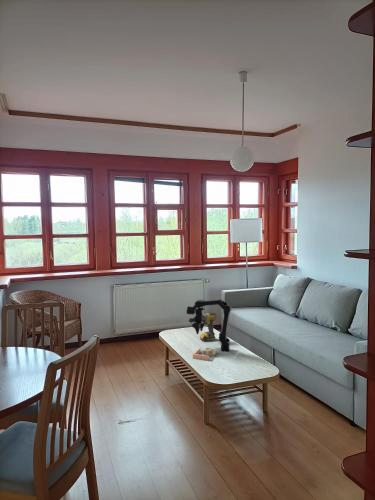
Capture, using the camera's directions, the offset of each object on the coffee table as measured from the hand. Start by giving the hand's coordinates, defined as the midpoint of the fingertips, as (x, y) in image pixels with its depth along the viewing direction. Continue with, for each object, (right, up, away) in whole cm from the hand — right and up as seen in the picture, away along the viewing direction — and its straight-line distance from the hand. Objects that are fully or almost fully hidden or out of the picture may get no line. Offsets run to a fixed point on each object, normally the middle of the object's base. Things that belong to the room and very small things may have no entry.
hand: (199, 332), depth 318 cm
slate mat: (+5, -15, -18) cm, 24 cm away
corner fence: (+3, -15, -19) cm, 24 cm away
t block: (+8, -14, -16) cm, 23 cm away
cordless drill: (+6, -12, +22) cm, 26 cm away
